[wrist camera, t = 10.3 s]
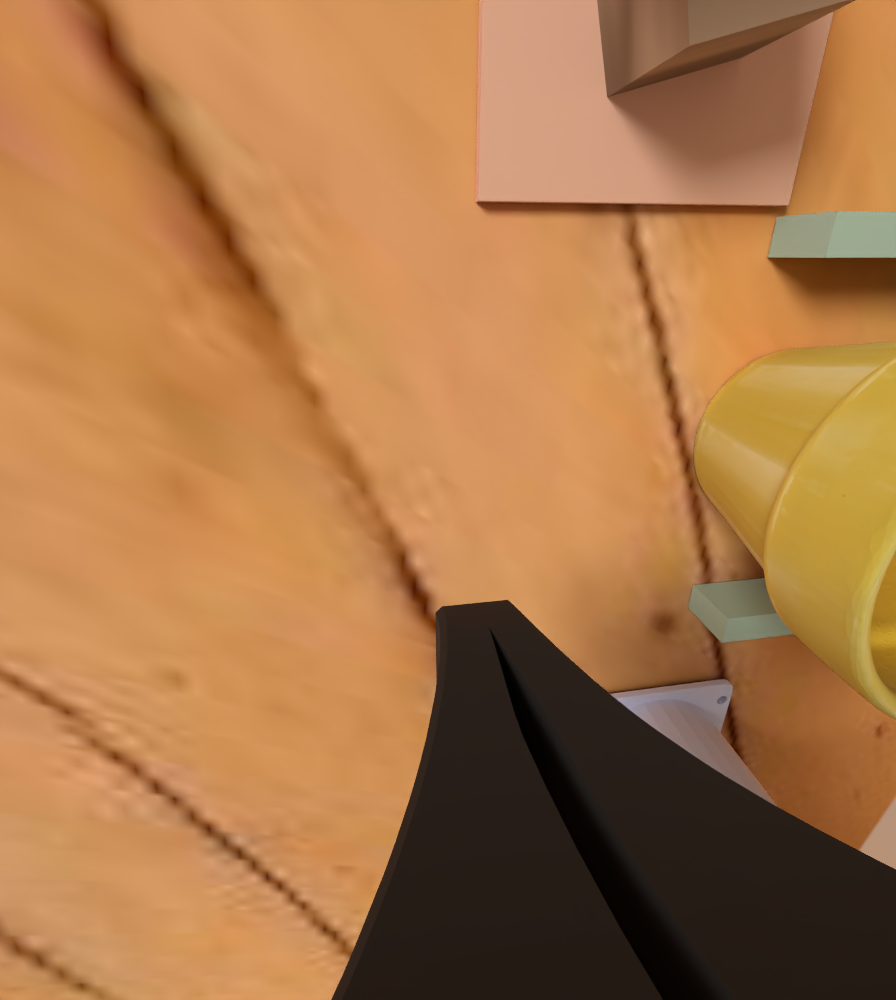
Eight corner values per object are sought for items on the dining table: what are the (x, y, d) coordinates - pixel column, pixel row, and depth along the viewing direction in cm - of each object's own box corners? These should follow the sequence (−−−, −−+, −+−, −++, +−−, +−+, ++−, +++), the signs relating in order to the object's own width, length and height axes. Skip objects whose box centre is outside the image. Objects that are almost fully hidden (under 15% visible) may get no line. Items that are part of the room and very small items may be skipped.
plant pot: (590, 436, 19) (787, 585, 11) (830, 222, 18) (1306, 189, 9) (720, 592, 24) (939, 791, 15) (925, 432, 22) (1311, 551, 13)
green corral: (885, 586, 25) (935, 617, 23) (688, 607, 24) (721, 642, 21) (1035, 219, 19) (1124, 214, 17) (777, 217, 17) (837, 211, 15)
